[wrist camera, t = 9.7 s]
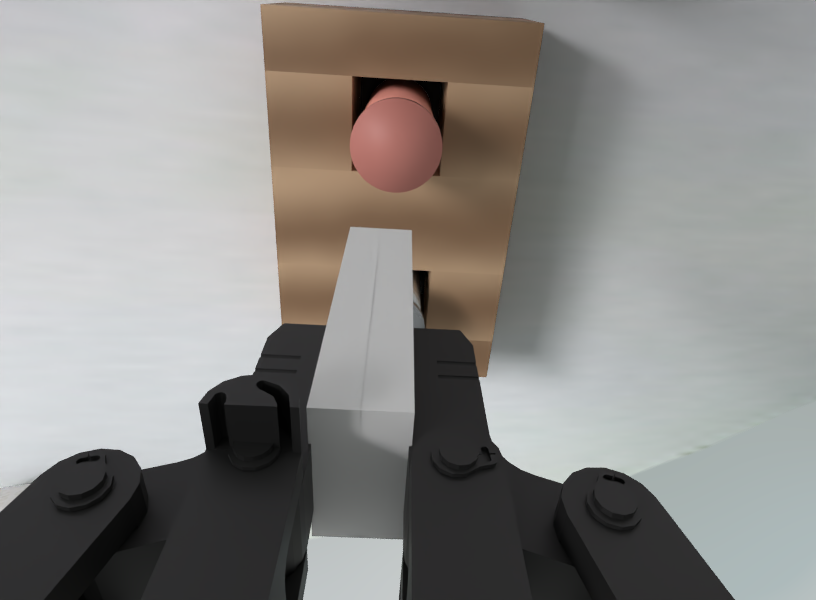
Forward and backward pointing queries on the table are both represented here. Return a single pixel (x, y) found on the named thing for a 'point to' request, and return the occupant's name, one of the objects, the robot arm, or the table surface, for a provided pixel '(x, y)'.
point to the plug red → (396, 137)
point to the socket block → (419, 208)
